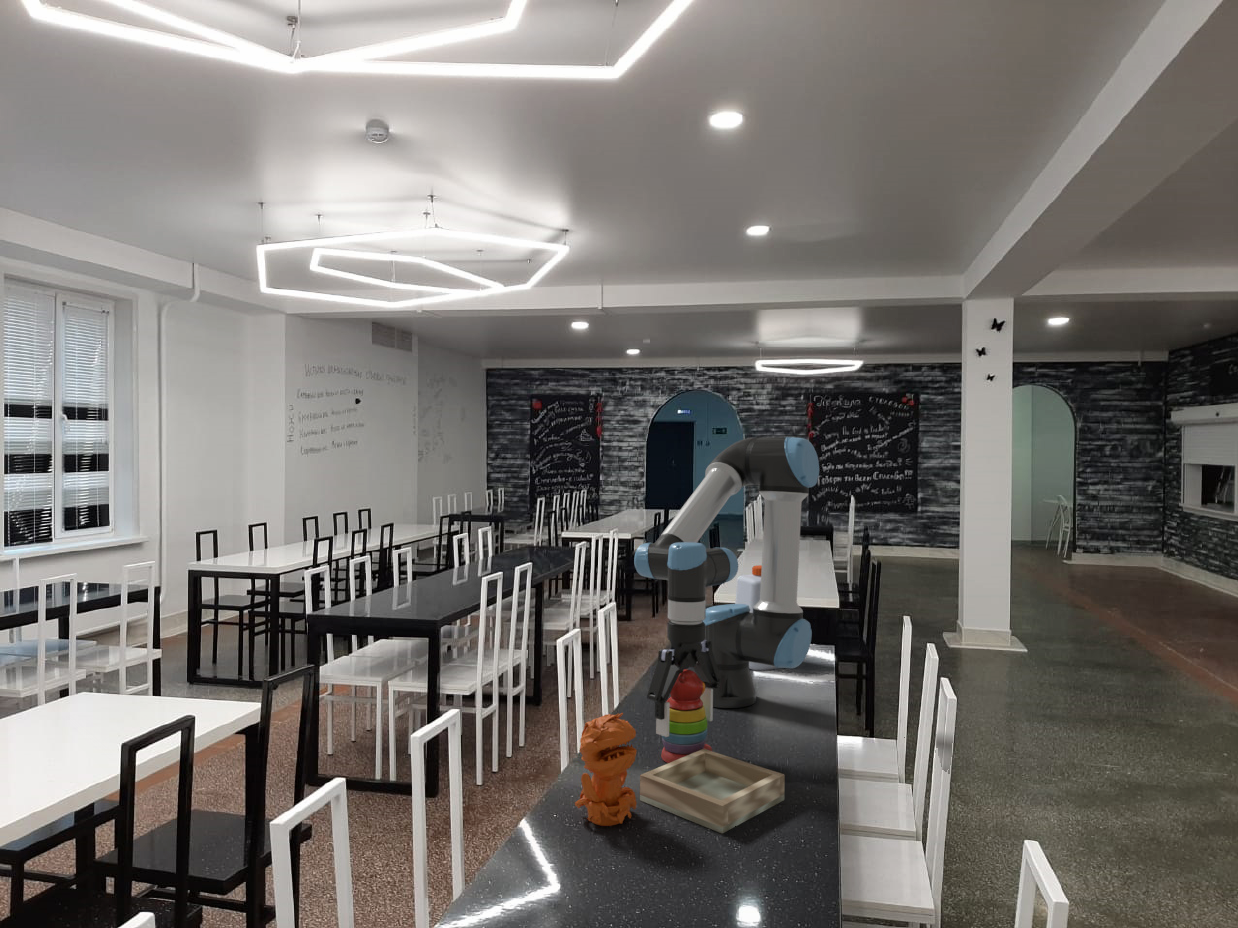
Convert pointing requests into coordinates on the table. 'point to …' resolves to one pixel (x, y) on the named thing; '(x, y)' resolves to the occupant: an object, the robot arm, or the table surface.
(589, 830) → the table surface
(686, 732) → the stacking bear
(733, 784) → the open wooden box
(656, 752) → the table surface
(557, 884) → the table surface
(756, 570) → the plastic bottle
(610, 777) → the toy dinosaur
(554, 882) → the table surface
